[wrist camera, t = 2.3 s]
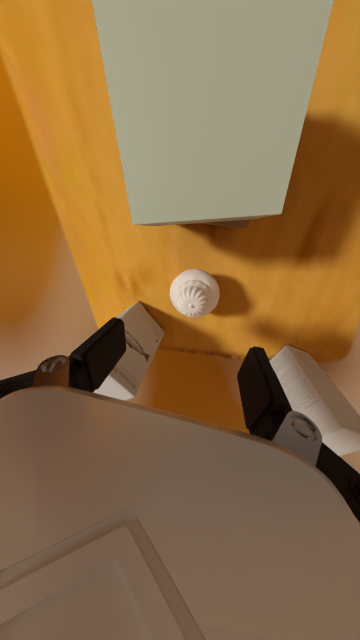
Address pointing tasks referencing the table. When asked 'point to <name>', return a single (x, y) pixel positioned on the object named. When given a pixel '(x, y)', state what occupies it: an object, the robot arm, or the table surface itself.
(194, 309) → the muffin
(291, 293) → the table surface
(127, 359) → the supplement box
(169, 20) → the top block
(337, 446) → the skincare box
